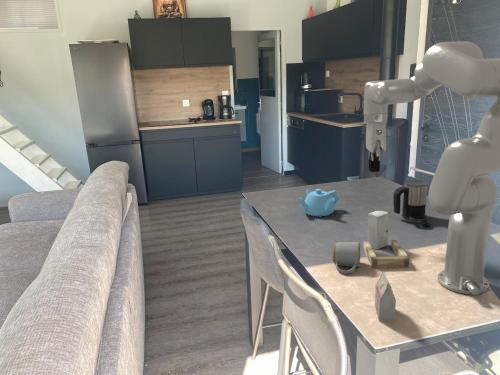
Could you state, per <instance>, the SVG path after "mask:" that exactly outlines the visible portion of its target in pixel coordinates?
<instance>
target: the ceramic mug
mask: <svg viewBox="0 0 500 375" xmlns="http://www.w3.org/2000/svg"><path fill="white" fill-rule="evenodd" d="M360 249H361V245H360V242H359V241H349V242H347V241H344V242H343V241H339V242H335V243H334V244H333V248H332V261H333V264H334V265H335V268H336V270H337V271H338V272H339V273H340V274H342V275H344V274H345V275H350V274H352V273H354V271H355V270H356V268H359V267H360V265H361V250H360ZM339 266H341V267H351V268H350V269H348V270H345V269H344V270H343V269H341V268H339Z"/></svg>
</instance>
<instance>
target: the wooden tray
mask: <svg viewBox="0 0 500 375" xmlns="http://www.w3.org/2000/svg"><path fill="white" fill-rule="evenodd" d="M390 245H391V246H390V248H391V249H373V248H371V246H370V244H369V242H368V240H362V249H363V251H364V254H365V255H366V256H365V257H367V260H368V262H369V263H370V264H369V265H370V266H371V268H372V269H382V268H383V269H386V268H387V269H388V268H390V269H391V268H410V257H409V256H408V254H407V253H406V252H405V250H404V249H403V248H402V246H401V245H400V243H399V242H398V241H397V240H396V239H392V240H391V244H390Z"/></svg>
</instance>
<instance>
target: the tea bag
mask: <svg viewBox="0 0 500 375" xmlns="http://www.w3.org/2000/svg"><path fill="white" fill-rule="evenodd" d="M381 272H382V273H381V275H380V277H379V279H378V280H377V282H376V283H375V294H374V306H375V307H374V308H375V311H376V315H377V318H378V321H379V322H391V323H395V322H396V306H397V304H396V303H397V302H396V301H397V300H396V296H395V293H394V291H393V289H392V286H391V283H390V281H389V280H388V278H387V275H386V273H385V272H386V271H383V270H381Z"/></svg>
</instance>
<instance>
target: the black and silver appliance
mask: <svg viewBox="0 0 500 375" xmlns="http://www.w3.org/2000/svg"><path fill="white" fill-rule="evenodd" d="M403 183H404V185H403V186H400V187H397V188H396V189H395V190H394V192H393V196H392V197H393V200H392V201H393V203H392V204H393V205H392V206H393V213H394V214H396V215H399V214H401V213H402V214H401V217H402V218H404V219H406V220H409V221H410V220H411V221H412V222H417V223H418V224H420V225H422V226H424V227H427V225H428V226H430V225H431V223H432V222H430V221H429V219H426V218H427V217H426V207H427V206H426V205H427V204H426V203H427V195H428V194H427V193H428V185H429V183H428V182H427V181H426V180H425V181H424V180H420V179H418V180H417V179H409V180H405V181H404V182H403ZM402 194H403V195H402ZM402 196H403V197H402ZM401 197H402V212H401Z"/></svg>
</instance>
